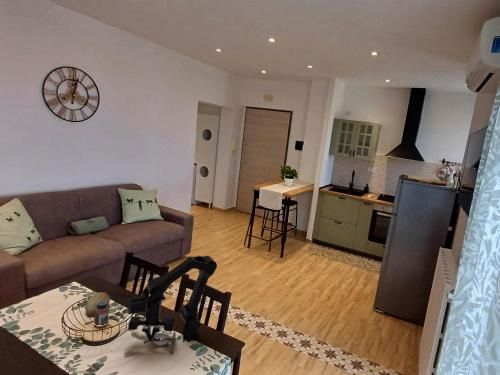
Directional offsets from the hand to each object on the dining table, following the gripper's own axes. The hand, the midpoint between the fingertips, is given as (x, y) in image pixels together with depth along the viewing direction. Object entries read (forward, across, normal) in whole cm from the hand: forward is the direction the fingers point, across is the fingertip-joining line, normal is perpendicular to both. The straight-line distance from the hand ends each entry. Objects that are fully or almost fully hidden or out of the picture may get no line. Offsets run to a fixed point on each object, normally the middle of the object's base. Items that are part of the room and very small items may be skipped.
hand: (150, 340), depth 143 cm
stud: (+2, -5, 0) cm, 5 cm away
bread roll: (+3, +30, -26) cm, 39 cm away
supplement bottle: (+3, +25, -14) cm, 28 cm away
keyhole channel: (+2, -1, 0) cm, 3 cm away
